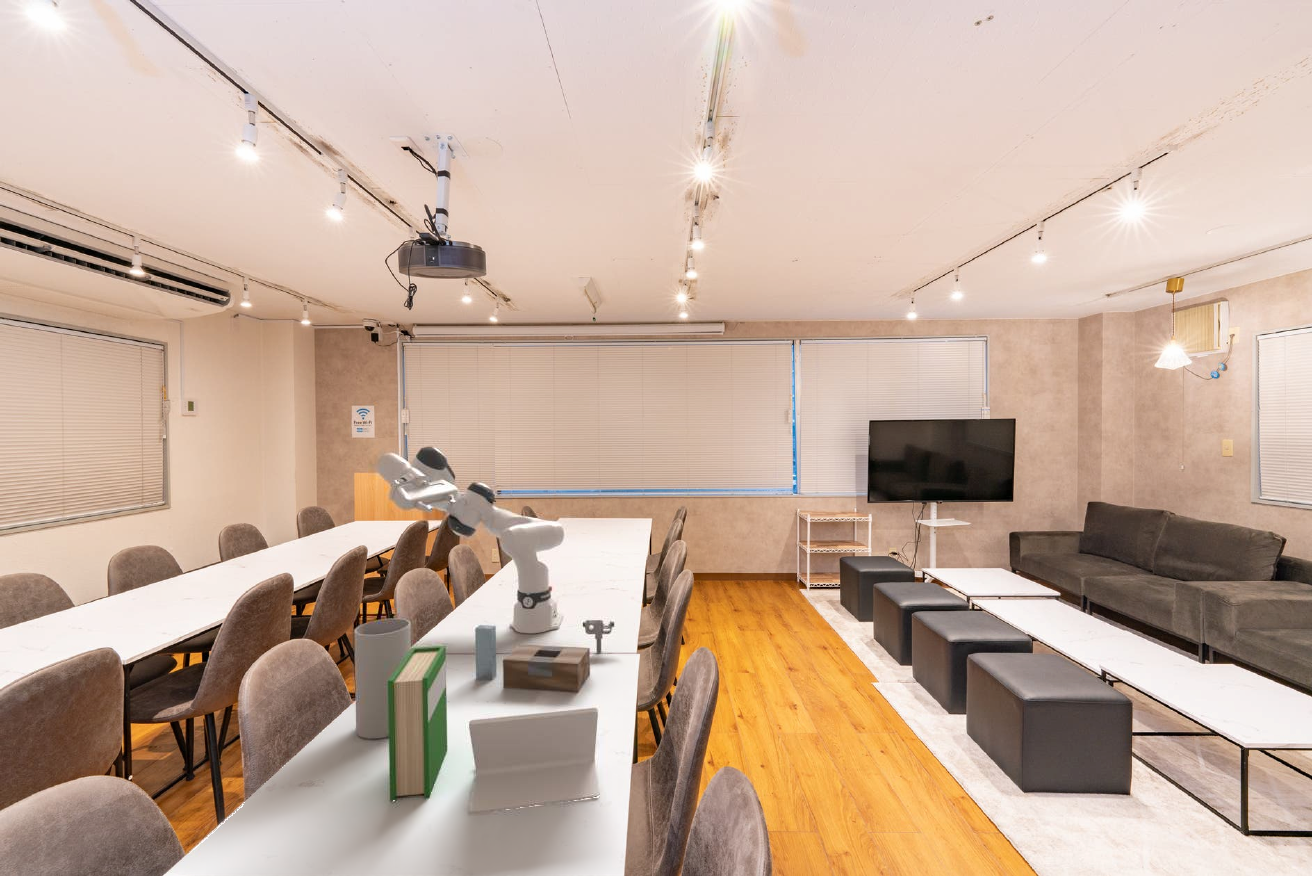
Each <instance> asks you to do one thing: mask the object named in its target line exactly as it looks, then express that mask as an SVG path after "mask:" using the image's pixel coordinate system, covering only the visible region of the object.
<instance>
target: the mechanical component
mask: <svg viewBox="0 0 1312 876" xmlns="http://www.w3.org/2000/svg"><path fill="white" fill-rule="evenodd" d="M591 626H592V627H591ZM614 627H615V622H614V621H612V620H610V621H609V623H608V624H605V623H604V620H601V619H596V620H595V619H593V620H591V619H590V620H589V619H587V620H585V621H583V622H582V628H585V633H586V634H587V635H594V639H595V640H596V641H595V643H596V652H597V653H599V654H600V653H601V652H602V639H603V638H604V636H603V635H610V634H611V633H612V630H613V628H614ZM607 629H608V630H607Z"/></svg>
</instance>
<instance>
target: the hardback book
mask: <svg viewBox="0 0 1312 876" xmlns="http://www.w3.org/2000/svg"><path fill="white" fill-rule="evenodd" d="M446 647H447V646H446V645H437V646H424V647H423V646H422V647H421V646H420V647H411V649H410V651H409V652H408V654H407V655H406V656H405V658H404V659H403V661H402V662H401V663H400V665H399V666H398V668H397V669H396V670H395V672H394V673H393V674H392V676H391V677H390V679H389V680H388V716H389V737H388V754H389V755H388V757H389V758H388V759H389V760H388V763H389V766H388V767H389V802H390V801H393V800H395V799H396V800H397V798H398V797H403V796H413V795H421V794H422V795H423V794H424V796H423V797H424V799H425V798H426V799H430V797H431V795H432V793H431V792H433V790H434V787H435V785H436V781H437V779H438V777H439V773H440V771H441V768H442V765H443V763H444V760H445V757H446V754H447V752H448V714H447V713H448V711H447V709H448V708H447V707H448V705H447V701H448V700H447V650H446V649H447V648H446ZM434 784H435V785H434ZM396 797H397V798H396Z"/></svg>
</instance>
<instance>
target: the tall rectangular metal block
mask: <svg viewBox="0 0 1312 876" xmlns="http://www.w3.org/2000/svg"><path fill="white" fill-rule="evenodd" d="M496 627H497V626H496V625H488V624H487V625H485V624H480V625H478V626H477V627H475V630H474V631H475V632H474V633H475V635H474V636H475V637H474V638H475V680H483V681H484V680H485V681H493V680H494V679H495V678H496V677H497V628H496Z"/></svg>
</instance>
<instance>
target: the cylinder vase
mask: <svg viewBox="0 0 1312 876" xmlns="http://www.w3.org/2000/svg"><path fill="white" fill-rule="evenodd" d="M353 631H354V632H353V633H354V679H355V680H354V683H355V685H354V686H355V690H354V691H355V695H354V696H355V731H356V734H357V735H358V736H359V737H361V738H363V739H366V740H380V739H385V738H389V716H388V680H389V679H390V677H391V676H392V674H393V673H394V672H395V670H396V669H397V668H398V666H399V665H400V663H401V662H402V661H403V659H404V658H405V656H406V655H407V654H408V652H409V651H410V649H411V648H412V646H411V645H412V641H411V638H412V637H411V634H412V633H411V621H410V620H408V619H405V618H397V617H396V618H395V617H394V618H384V619H377V620H376V619H375V620H373V621H368V622H365V623H363V624H360V625H357V627H356V628H354V630H353Z"/></svg>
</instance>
